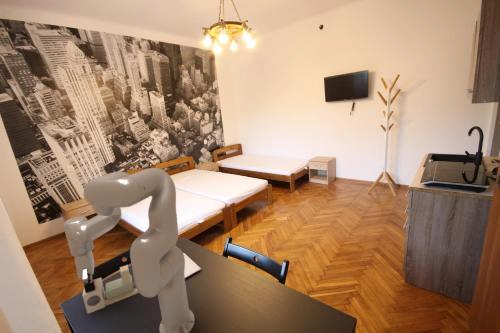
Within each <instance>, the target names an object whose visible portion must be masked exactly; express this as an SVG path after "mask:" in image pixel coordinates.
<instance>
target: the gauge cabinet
mask: <svg viewBox="0 0 500 333" xmlns="http://www.w3.org/2000/svg"><path fill="white" fill-rule="evenodd" d="M93 280H94V281H95V285H96V288H95V290H94V291H91V292H88V293H86V292H85V288H84V287H83V288H82V289H83V290H82V299H83V303H84V306H85V309H86V313H87V315H88V314H91V313H94V312H97V311H99V310H101V309H105V308H106V306H105V305H104V300H105V288H104V284H103V279H102V277H99V278H95V279H93Z"/></svg>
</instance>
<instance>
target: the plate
mask: <svg viewBox="0 0 500 333" xmlns="http://www.w3.org/2000/svg"><path fill="white" fill-rule="evenodd" d="M183 254H184V258H185V270H184V276H185V279H186V278H188V277H190V276H191V275H192V276H193V275H194V274H195V273H198V272H199V271H201V269H202V268H201V267H200V266H199V265H198V264H197V263H196V262H195V261H194V260H192V259H191V258H190V257H189V255H187V254H186V253H185V252H183Z"/></svg>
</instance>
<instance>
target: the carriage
mask: <svg viewBox="0 0 500 333" xmlns="http://www.w3.org/2000/svg"><path fill="white" fill-rule="evenodd" d="M119 273H120V278H117V279H115V280H112V281H109V282H106V283H105V289H104V291H105V293H106V297H107V299H108V300H109V299H111V298H114V297H116V296H119V295H121V294H124V293H127V292H129V291H132V290H134V288H133V282H134V281H133V275H132V274H130V270H129V265H128V264H126V265H123V266H120V267H119Z"/></svg>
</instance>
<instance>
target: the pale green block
mask: <svg viewBox="0 0 500 333" xmlns="http://www.w3.org/2000/svg"><path fill="white" fill-rule="evenodd" d="M132 282H133V288H134V290H132V291H129V292H127V293H124V294H121V295H119V296H116V297H114V298H111V299H109V300H108V299H107V297H106V293H105V300H104V305H105V307H107V306H110V305H112V304H115V303H117V302H120V301H122V300H125V299H127V298H130V297H132V296H134V295H138V294H140V293H139V292H138V290H137V288H136V286H135V283H134V281H132Z"/></svg>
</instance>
